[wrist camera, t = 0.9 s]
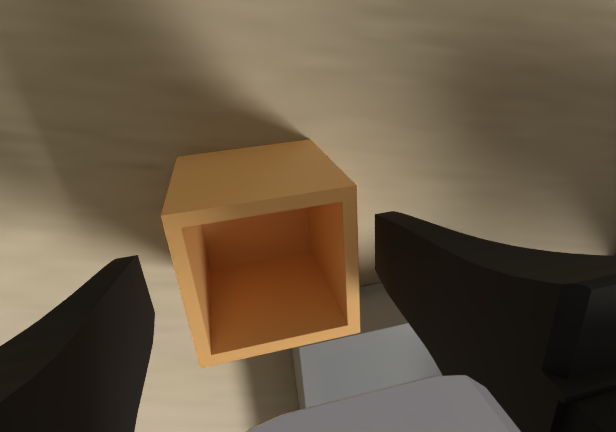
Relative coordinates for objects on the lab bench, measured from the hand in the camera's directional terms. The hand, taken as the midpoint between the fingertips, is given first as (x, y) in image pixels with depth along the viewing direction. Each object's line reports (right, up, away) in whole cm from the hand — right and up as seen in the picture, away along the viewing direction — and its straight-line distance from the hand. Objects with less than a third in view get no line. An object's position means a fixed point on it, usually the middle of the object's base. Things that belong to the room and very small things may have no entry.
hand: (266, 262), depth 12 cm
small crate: (-1, +2, +4) cm, 4 cm away
